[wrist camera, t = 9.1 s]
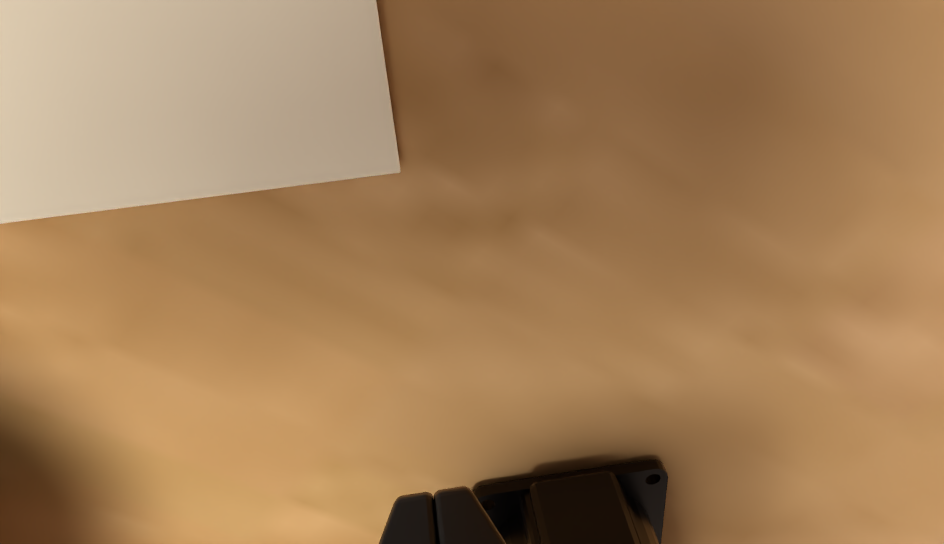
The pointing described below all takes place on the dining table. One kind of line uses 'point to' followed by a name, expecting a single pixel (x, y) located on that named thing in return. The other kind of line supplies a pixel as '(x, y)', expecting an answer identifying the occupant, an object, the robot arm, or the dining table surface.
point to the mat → (186, 100)
